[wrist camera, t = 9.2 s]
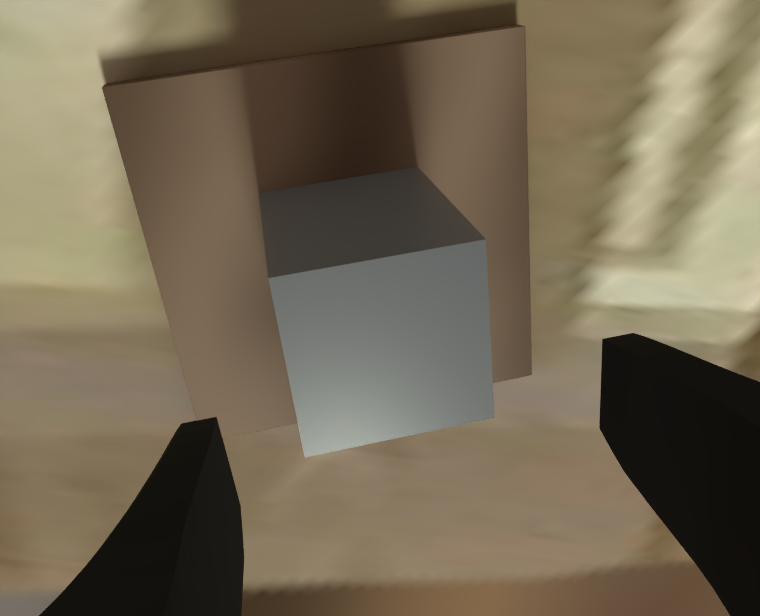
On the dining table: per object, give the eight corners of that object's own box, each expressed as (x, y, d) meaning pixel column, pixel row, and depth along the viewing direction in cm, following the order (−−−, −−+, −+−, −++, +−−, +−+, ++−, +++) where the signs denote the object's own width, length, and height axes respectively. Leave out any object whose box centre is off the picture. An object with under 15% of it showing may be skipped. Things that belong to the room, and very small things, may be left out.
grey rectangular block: (417, 166, 20) (485, 239, 14) (430, 308, 22) (494, 417, 16) (258, 192, 19) (268, 278, 14) (286, 335, 21) (305, 457, 16)
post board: (516, 24, 19) (616, 43, 14) (525, 366, 24) (600, 468, 19) (105, 83, 18) (57, 127, 13) (203, 431, 23) (195, 559, 18)
